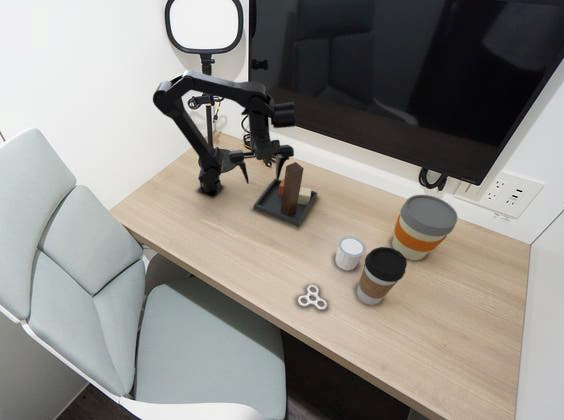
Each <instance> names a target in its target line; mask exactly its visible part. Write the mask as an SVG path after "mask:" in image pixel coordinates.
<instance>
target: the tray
mask: <svg viewBox="0 0 564 420" xmlns="http://www.w3.org/2000/svg"><path fill="white" fill-rule="evenodd" d="M282 180H283V179H279V180H276V177H274V178H273V180H272V181H271V182H270V184H269V185H268V186H267V188H266V189H265V190H264V191H263V192H262V194H261V195H260V197H258V199H257V200H256V201H255V203H254V204H253V210H254V211H256V212H260V213H262V214H264V215H267V216H270V217H272V218H275V219H277V220H280V221H282V222H285V223H288V224H290V225H292V226H296V227H297V228H299V227H300V225H301V224H302V222H303V221H304V219H305V217H306V216H307V214H308V212H309V210H310V209H311V207H312V206H313V204H314V202H315V201H316V199H317V197H318V192H317V191H314V190H311V196H310V201H309V203H308V205H303V204H297V210H296V214H294V215H292V216H290V217H289V216H287V215H284V214H283V213H282V212H281V204H282V195H278V193H279V185H280V184H281V182H282Z"/></svg>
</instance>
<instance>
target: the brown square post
mask: <svg viewBox="0 0 564 420" xmlns="http://www.w3.org/2000/svg"><path fill="white" fill-rule="evenodd" d="M304 169H305V168H304V166H302V165H301V164H299V163H298V162H297V161H295V162H293V163H289V164H287V165H286V166H285V172H284V178H283V179H284V187H283V196H282V204H281V212H282V213H283V214H284V215H287V216H289V217H290V216H292V215H294V214H296V210H297V204H298V198H299V193H300V187H302V181H303V174H304Z"/></svg>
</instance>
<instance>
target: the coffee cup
mask: <svg viewBox="0 0 564 420" xmlns="http://www.w3.org/2000/svg"><path fill="white" fill-rule="evenodd" d="M407 260H408V259H406V258H405V257H404V256H403V255H402V254H401V253H400V252H399V251H397V250H395V249H394V248H393V247H388V246H379V247H376V248H373V249H371V250H370V252H369V253H367V255H366V256H365V259H364V264H363V268H362V271H361V275H360V278H359V282H358V285H357V288H356V295H357V297H358V299H359V300H360V301H361V302H362V303H364V304H366V305H370V306H374V305H378V304H379V303H380V302H381V301H382V300H383V299H384V297H386V295H387V294H389V293H390V291H391V290H392V289H393V288H394V287H395V285H396V284H397V283H398V282H399V281H400V280H401V279H403V278H404V275H405V274H406V269H407V265H408V261H407Z"/></svg>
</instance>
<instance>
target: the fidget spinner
mask: <svg viewBox="0 0 564 420" xmlns="http://www.w3.org/2000/svg"><path fill="white" fill-rule="evenodd" d="M312 288H313V289H314V290H316V291H315V292H314V291H313V292H312V291H311V289H312ZM306 291H307V294H305V295H300V296H299V297H298V299H297V302H298V304H299V305H300V306H301V307H308V306H310V305H313V306H315V308H317V309H318V310H320V311H324V310H325V309H327V307H328V303H327V301H326V300H325V299H324V298H321V297H320V295H319V291H320V289H319V288H318V286H317V285H315V284H310V285H308V286H307V288H306ZM310 297H314V298H315V300H312V299H311V298H310ZM302 299H304V300H306V303H303V302H302ZM318 302H321V303H323V306H320V305H319V304H318Z"/></svg>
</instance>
